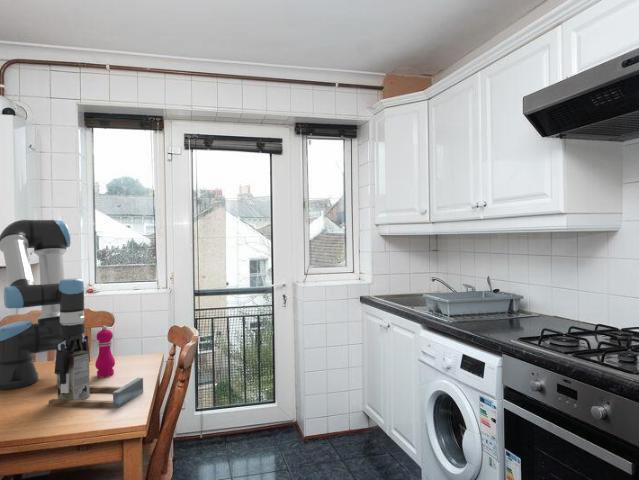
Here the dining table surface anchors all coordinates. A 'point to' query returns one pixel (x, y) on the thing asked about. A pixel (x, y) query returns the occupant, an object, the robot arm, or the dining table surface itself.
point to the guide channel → (119, 393)
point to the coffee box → (77, 377)
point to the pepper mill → (105, 353)
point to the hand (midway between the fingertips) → (73, 388)
